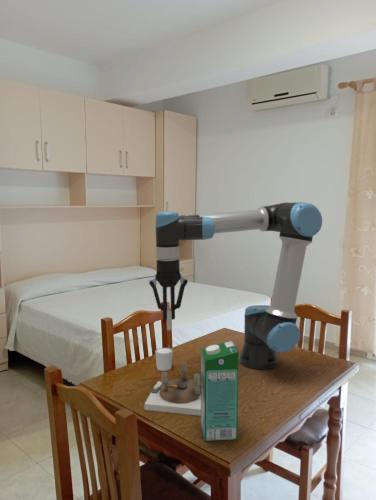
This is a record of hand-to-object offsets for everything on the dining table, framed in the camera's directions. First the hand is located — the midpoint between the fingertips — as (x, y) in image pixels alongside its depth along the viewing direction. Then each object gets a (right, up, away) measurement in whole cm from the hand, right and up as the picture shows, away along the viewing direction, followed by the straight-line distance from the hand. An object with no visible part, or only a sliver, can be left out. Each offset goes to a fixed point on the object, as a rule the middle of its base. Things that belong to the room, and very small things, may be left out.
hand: (169, 328), depth 134 cm
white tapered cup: (-3, -20, +22) cm, 30 cm away
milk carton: (+15, -25, -21) cm, 36 cm away
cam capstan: (+4, -20, -3) cm, 21 cm away
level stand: (+4, -23, -4) cm, 23 cm away
